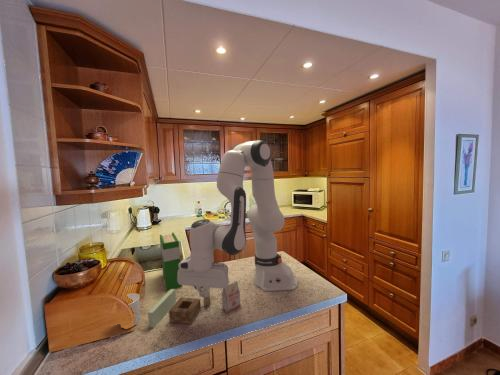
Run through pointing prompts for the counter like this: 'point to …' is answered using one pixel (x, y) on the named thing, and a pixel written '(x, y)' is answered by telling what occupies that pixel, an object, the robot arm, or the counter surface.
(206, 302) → the dowel
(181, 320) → the block
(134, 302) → the white cup
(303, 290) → the counter surface
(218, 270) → the robot arm
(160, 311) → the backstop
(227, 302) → the tea bag
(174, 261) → the hardback book
